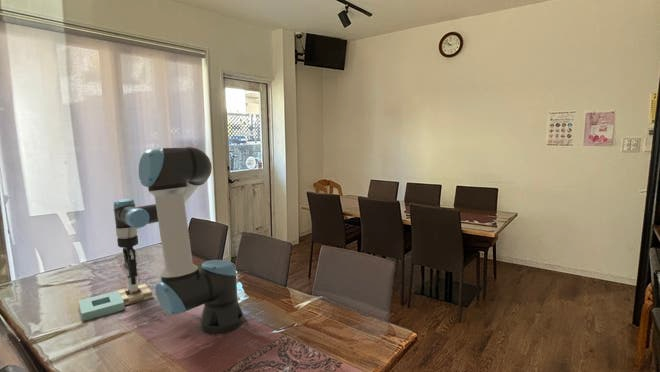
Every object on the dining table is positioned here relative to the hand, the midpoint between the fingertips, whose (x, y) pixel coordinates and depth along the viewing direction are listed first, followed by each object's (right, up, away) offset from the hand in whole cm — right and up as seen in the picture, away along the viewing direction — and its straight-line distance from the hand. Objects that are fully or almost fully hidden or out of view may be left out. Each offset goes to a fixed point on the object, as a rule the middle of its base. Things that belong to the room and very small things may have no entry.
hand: (132, 289), depth 153 cm
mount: (0, -4, +1) cm, 4 cm away
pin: (0, -4, +1) cm, 4 cm away
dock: (-7, -5, -9) cm, 13 cm away
